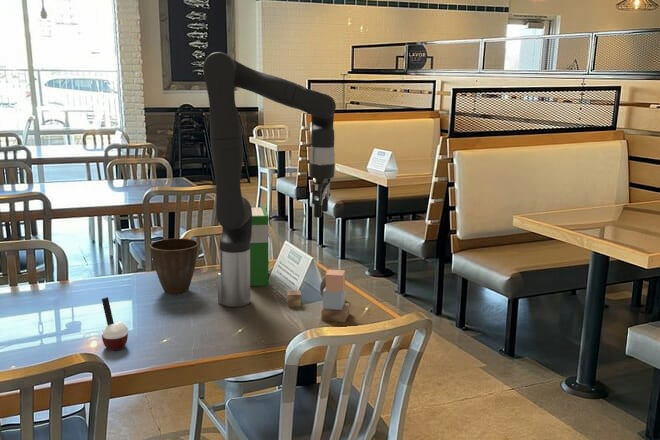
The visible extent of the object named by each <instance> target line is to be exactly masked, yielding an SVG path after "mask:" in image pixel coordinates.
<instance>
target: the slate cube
mask: <svg viewBox="0 0 660 440" xmlns="http://www.w3.org/2000/svg"><path fill="white" fill-rule="evenodd" d="M345 287H346V286H345ZM345 287H344V290H343V292H331V291H326V287H325V288H324V290H323V297H322V308H323V309H332V310H342V308H343V306H344V304H345V303H346V302H345V301H346V299H345V298H346V297H345V296H346V295H345V293H346V292H345Z"/></svg>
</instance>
